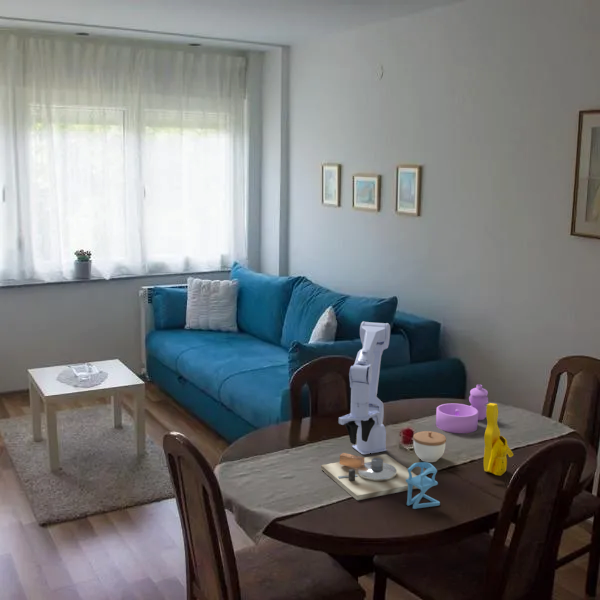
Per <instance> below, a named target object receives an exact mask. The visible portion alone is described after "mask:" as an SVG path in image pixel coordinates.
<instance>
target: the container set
mask: <svg viewBox="0 0 600 600" xmlns="http://www.w3.org/2000/svg"><path fill="white" fill-rule="evenodd" d="M469 394H470V395H469V397H468V400H469V403H470V405H467V404H464V403H451V402H450V403H443V404H440V405H438V406H437V407H436V413H435V426H436V427H437V428H438V429H439V430H441V431H444V432H448V433H453V434H469V433H470V434H471V433H474V432H475V431H477V430H478V425H479V423H478V422H479V421H483V420H485V418H487V417H486V409H487V404H489V397H488V394H489V392H488V390H487V389H486V388H483V385H482V384H476V387H474V388H471V389H470V391H469Z"/></svg>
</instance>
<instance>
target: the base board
mask: <svg viewBox="0 0 600 600" xmlns="http://www.w3.org/2000/svg"><path fill="white" fill-rule="evenodd" d="M374 458H380V459H382V460H383V463H387V464H390V465H392V466H394V467H395V468H396V477H395V478H393V479H391V480H387V481H371V480H367V479H364V478H362V477H360V476H359V475H358V468H354V467H350V466H346V465H341V464H340V461H337V462H331V463H326V464H321V465H320V470H321V471H322V470H323V471H324V472H323V471H322V472H323V473H325V474H326V475H327V476H328V477H329V478H330V477H331V478H330V479H332V480H333V482H335V483H336V484H338V486H339V487H341V488H342V489H343V490H345V492H346V493H348V494H349V495H350V496H351V497H352V498H354V499H355V500H356V501H361V500H366V499H367V500H368V499H370V498H377V497H380V496H386V495H391V494H395V493H401V492H408V483H407V482H406V479H408V478H409V472H408V468H407V467H406V466H405V465H402V463H400V462H399V461H397V460H395V459H394V458H393V457H391V456H390V455H388V454H387V453H383V454H378V455H372V456H366V457H364V463H367V462H371V461H372V459H374ZM411 474H412V477H415V476H418V475H417V474H416V473H414V472H413V471H411ZM417 489H418V488H417V487H415V486H414V485H413V488H412V490H417Z"/></svg>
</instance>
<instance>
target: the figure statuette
mask: <svg viewBox="0 0 600 600" xmlns="http://www.w3.org/2000/svg"><path fill="white" fill-rule="evenodd" d="M486 408H487V409H486V417H485V418H486V421H487V423H486V424H487V425H486V428H485V430H484V431H485V432H484V436H483V438H484V439H483V440H484V451H483V452H484V453H483V470H484V472H486V473H491V474H493V475H495V476H503V474H505V473H506V471H507V466H508V459H507V455H508V457H509V458H512V457H513V456H514V453H513V451H512V449H511V448H510V447H509V443H508V439H507V438H505V437H504V436H503V435H501V429H500V428H499V424H498V420H499V419H498V418H499V407H498V404H497V403H493V402H492V403H491V402H488V403H487V404H486Z"/></svg>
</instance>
